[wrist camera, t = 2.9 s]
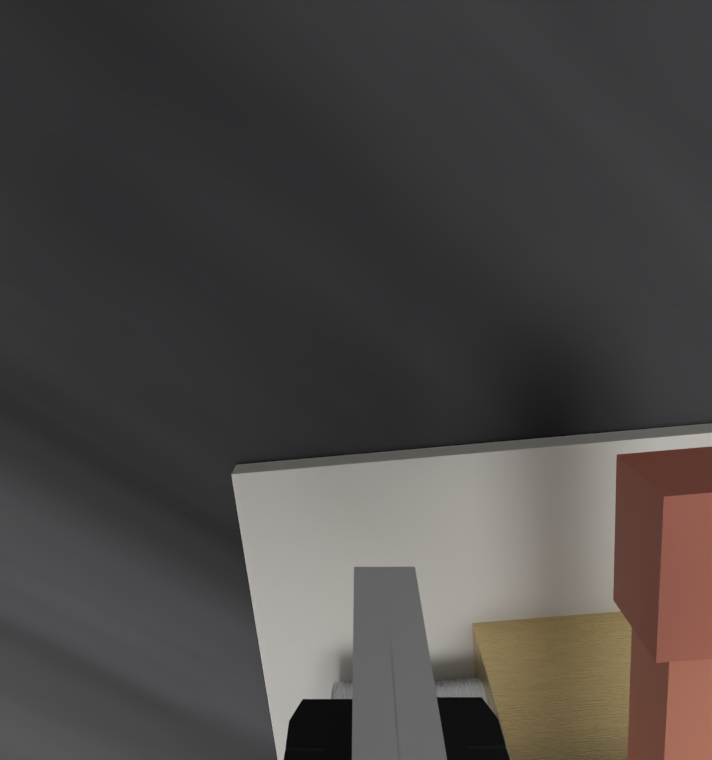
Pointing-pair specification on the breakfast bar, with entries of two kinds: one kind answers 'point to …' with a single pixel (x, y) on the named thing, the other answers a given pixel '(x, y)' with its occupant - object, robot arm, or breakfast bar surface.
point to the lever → (666, 599)
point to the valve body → (550, 684)
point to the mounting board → (429, 545)
